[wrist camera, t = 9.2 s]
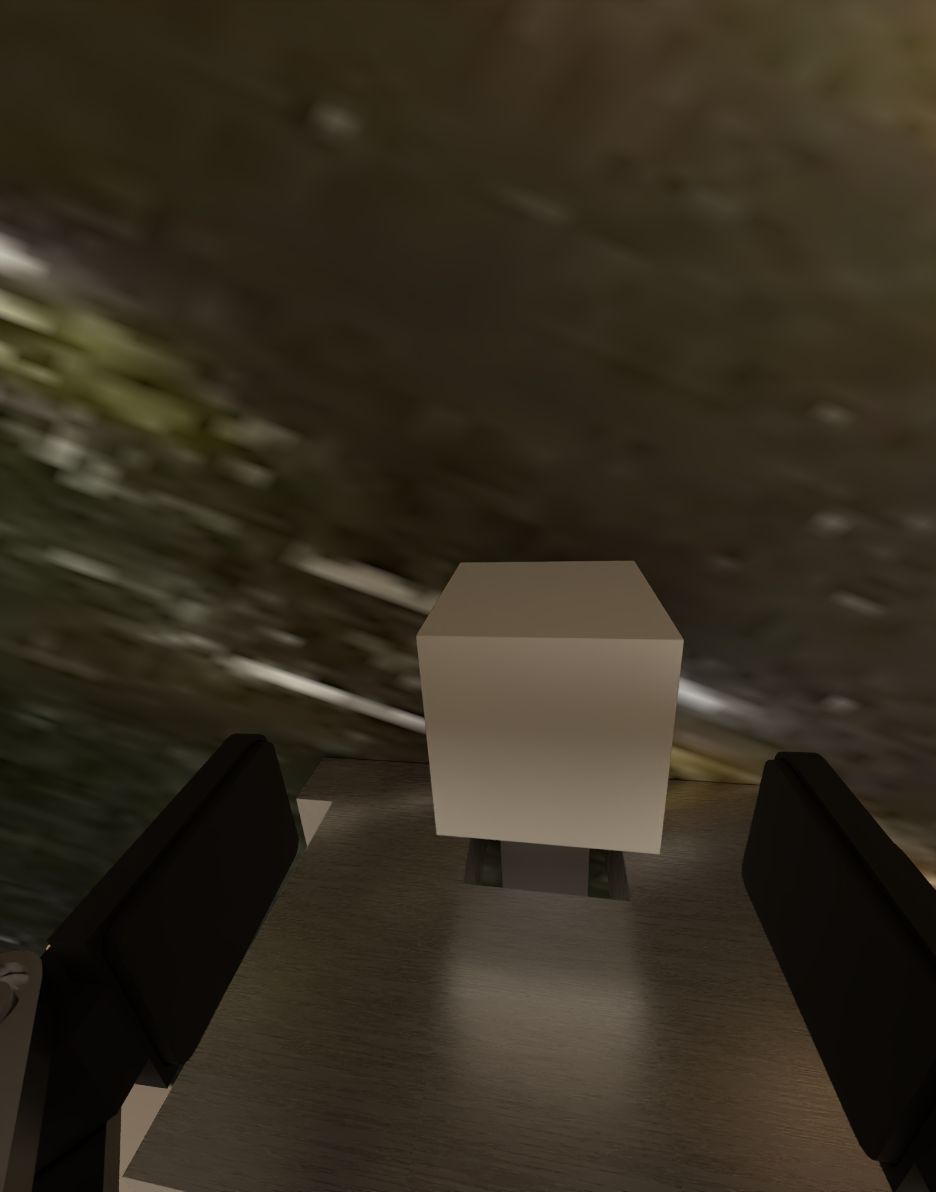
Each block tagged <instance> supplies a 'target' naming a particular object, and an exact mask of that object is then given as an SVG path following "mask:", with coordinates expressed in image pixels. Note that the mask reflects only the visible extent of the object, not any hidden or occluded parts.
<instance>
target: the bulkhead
mask: <svg viewBox="0 0 936 1192" xmlns="http://www.w3.org/2000/svg"><path fill="white" fill-rule="evenodd" d="M759 788H760V786H758V785H743V784H727V783H712V782H696V781H681V780H668V785H667V794H666V803H665V812H664V821H663V830H662V839H661V848H660V854H651V853H640V852H629V851H617V850H606V849H605V860H606V867H607V875H608V882H609V890H610V897H611V899H602V898H592V897H583V896H574V895H564V894H555V893H545V892H536V891H527V890H517V889H508V888H498V887H489V886H481V880H482V873H483V866H484V859H485V852H486V845H487V839H480V838H468V837H457V836H445V835H437V833H436V823H435V813H434V804H433V794H432V784H431V775H430V765H429V764H418V763H402V762H387V761H371V760H356V759H340V758H325V757H324V758H323V759H322V761H321V762H320V764H319V765H318V767H317V768H316V770H315V771H314V773H313V774H312V776H311V777H310V779H309V780H308V782H307V783H306V785H305V786H304V788H303V789H302V791H301V792H300V794H299V795H298V797H297V798H296V799H297V803H298V808H299V812H300V817H301V821H302V825H303V830H304V834H305V839H306V843H307V848H306V850H305V852H304V854H303V855H302V857H301V859H300V861H299V863H298V864H297V866H296V868H295V870H294V871H293V873H292V875H291V877H290V879H289V880H288V882H287V884H286V886H285V887H284V889H283V891H282V893H281V895H280V896H279V898H278V900H277V902H276V904H275V905H274V907H273V909H272V911H271V912H270V914H269V916H268V918H267V920H266V921H265V923H264V925H263V927H262V928H261V930H260V932H259V934H258V936H257V937H256V939H255V941H254V943H253V945H252V946H251V948H250V950H249V952H248V953H247V955H246V957H245V959H244V961H243V962H242V964H241V966H240V968H239V969H238V971H237V973H236V975H235V977H234V978H233V980H232V982H231V984H230V986H229V987H228V989H227V991H226V993H225V994H224V996H223V998H222V1000H221V1002H220V1004H219V1006H218V1008H217V1010H216V1012H215V1014H214V1016H213V1018H212V1020H211V1022H210V1023H209V1025H208V1027H207V1029H206V1031H205V1033H204V1035H203V1037H202V1039H201V1041H200V1043H199V1045H198V1047H197V1049H196V1050H195V1052H194V1054H193V1055H192V1057H191V1058H190V1059H189V1060H188V1061H187V1062H186V1064H185V1066H184V1067H183V1069H182V1071H181V1073H180V1075H179V1076H178V1078H177V1080H176V1082H175V1084H174V1085H173V1087H172V1089H171V1091H170V1093H169V1094H168V1097H167V1098H166V1100H165V1101H164V1103H163V1105H162V1107H161V1109H160V1110H159V1112H158V1114H157V1116H156V1118H155V1119H154V1121H153V1123H152V1125H151V1126H150V1128H149V1130H148V1132H147V1133H146V1135H145V1137H144V1139H143V1141H142V1142H141V1144H140V1146H139V1148H138V1150H137V1151H136V1153H135V1155H134V1157H133V1158H132V1160H131V1162H130V1164H129V1166H128V1167H127V1169H126V1171H125V1173H124V1174H123V1179H124V1180H125V1182H126V1183H127V1185H128V1187H129V1189H130V1190H131V1191H132V1192H892V1190H891V1187H890V1185H889V1183H888V1181H887V1179H886V1176H885V1174H884V1172H883V1170H882V1168H881V1166H880V1163H879V1161H874V1160H872V1159H870V1158H869V1157H868V1156H867V1155H866V1154H865V1153H864V1151H863V1149H862V1148H861V1146H860V1145H859V1143H858V1141H857V1139H856V1137H855V1135H854V1133H853V1130H852V1128H851V1126H850V1124H849V1121H848V1119H847V1117H846V1115H845V1112H844V1110H843V1108H842V1105H841V1103H840V1101H839V1099H838V1096H837V1094H836V1092H835V1090H834V1087H833V1085H832V1083H831V1081H830V1078H829V1076H828V1074H827V1072H826V1069H825V1067H824V1065H823V1063H822V1060H821V1058H820V1056H819V1054H818V1051H817V1049H816V1047H815V1045H814V1042H813V1040H812V1038H811V1035H810V1033H809V1031H808V1029H807V1026H806V1024H805V1022H804V1020H803V1017H802V1015H801V1013H800V1011H799V1008H798V1006H797V1004H796V1002H795V999H794V997H793V995H792V993H791V990H790V988H789V986H788V984H787V981H786V979H785V977H784V975H783V972H782V970H781V968H780V966H779V963H778V961H777V959H776V956H775V954H774V952H773V950H772V947H771V945H770V943H769V941H768V938H767V936H766V934H765V932H764V929H763V927H762V925H761V923H760V920H759V918H758V916H757V914H756V911H755V909H754V907H753V905H752V902H751V900H750V898H749V896H748V893H747V891H746V889H745V886H744V882H743V878H742V862H743V857H744V853H745V849H746V844H747V840H748V836H749V831H750V827H751V823H752V818H753V814H754V809H755V805H756V801H757V796H758V792H759Z"/></svg>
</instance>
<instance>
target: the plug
mask: <svg viewBox="0 0 936 1192" xmlns="http://www.w3.org/2000/svg"><path fill="white" fill-rule="evenodd" d="M416 640H417V649H418V659H419V669H420V678H421V688H422V698H423V707H424V717H425V727H426V736H427V746H428V755H429V765H430V775H431V784H432V794H433V804H434V813H435V823H436V833H437V835H445V836H457V837H468V838H480V839H491V840H501V862H502V885H503V888H508V889H517V890H527V891H536V892H545V893H555V894H564V895H574V896H583V897H587V895H588V872H589V849H590V848H594V849H606V850H617V851H629V852H640V853H651V854H660V848H661V839H662V830H663V821H664V812H665V803H666V794H667V785H668V776H669V767H670V758H671V749H672V741H673V732H674V723H675V714H676V705H677V696H678V687H679V678H680V669H681V660H682V651H683V643H684V639H683V638H682V636H681V635H680V633H679V631H678V630H677V628H676V627H675V625H674V623H673V622H672V620H671V619H670V617H669V616H668V614H667V612H666V611H665V609H664V608H663V606H662V604H661V603H660V601H659V600H658V598H657V596H656V595H655V593H654V592H653V590H652V588H651V587H650V585H649V584H648V582H647V580H646V579H645V577H644V576H643V574H642V572H641V571H640V569H639V568H638V566H637V564H636V563H635V561H561V562H469V563H460V564H459V566H458V567H457V569H456V571H455V572H454V574H453V576H452V577H451V579H450V581H449V582H448V584H447V586H446V587H445V589H444V591H443V592H442V594H441V595H440V597H439V599H438V600H437V602H436V604H435V605H434V607H433V609H432V610H431V612H430V614H429V615H428V617H427V619H426V620H425V622H424V624H423V625H422V627H421V628H420V630H419V632H418V633H417V635H416Z"/></svg>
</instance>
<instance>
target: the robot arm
mask: <svg viewBox="0 0 936 1192" xmlns="http://www.w3.org/2000/svg"><path fill="white" fill-rule="evenodd" d="M298 842H299V839H298V834H297V830H296V826H295V822H294V819H293V815H292V811H291V808H290V804H289V800H288V796H287V793H286V789H285V785H284V781H283V778H282V774H281V770H280V767H279V763H278V759H277V755H276V752H275V748H274V745H273V744H272V743H271V742H268V741H267V739H266V737H265V736H264V735H261V734H238V733H235V734H233V735H231V736H230V737H228V738H227V739H226V741H225V742H224V743H223V744H222V745H221V746H220V747H219V748H218V749H217V751H216V752H215V753H214V754H213V755H212V756H211V757H210V758H209V760H208V761H207V762H206V763H205V764H204V765H203V766H202V767H201V768H200V770H199V771H198V772H197V773H196V774H195V775H194V776H193V777H192V779H191V780H190V781H189V782H188V783H187V784H186V785H185V786H184V787H183V789H182V790H181V791H180V792H179V793H178V794H177V795H176V796H175V798H174V799H173V800H172V801H171V802H170V803H169V804H168V805H167V807H166V808H165V809H164V810H163V811H162V812H161V813H160V814H159V815H158V817H157V818H156V819H155V820H154V821H153V822H152V823H151V824H150V826H149V827H148V828H147V829H146V830H145V831H144V832H143V833H142V834H141V836H140V837H139V838H138V839H137V840H136V841H135V842H134V843H133V845H132V846H131V847H130V848H129V849H128V850H127V851H126V852H125V853H124V855H123V856H122V857H121V858H120V859H119V860H118V861H117V862H116V864H115V865H114V866H113V867H112V868H111V869H110V870H109V871H108V872H107V874H106V875H105V876H104V877H103V878H102V879H101V880H100V881H99V883H98V884H97V885H96V886H95V887H94V888H93V889H92V890H91V891H90V893H89V894H88V895H87V896H86V897H85V898H84V899H83V900H82V902H81V903H80V904H79V905H78V906H77V907H76V908H75V909H74V911H73V912H72V913H71V914H70V915H69V916H68V917H67V918H66V919H65V921H64V922H63V923H62V924H61V925H60V926H59V927H58V928H57V930H56V931H55V932H54V933H53V934H52V935H51V936H50V937H49V938H48V940H47V941H48V943H49V944H50V947H49V948H48V949H47V950H46V952H45V953H44V954H43V955H42V956H41V957H40V958H39V957H38V956H37V955H36V954H35V953H32V952H28V951H24V950H22V951H16V952H9V953H5V954H2V955H0V1192H119V1164H120V1132H121V1106H122V1104H123V1103H124V1101H125V1099H126V1097H127V1096H128V1094H129V1092H130V1091H131V1089H132V1087H133V1085H134V1084H139V1085H146V1086H153V1087H159V1088H168V1086H169V1084H170V1082H171V1081H172V1079H173V1077H174V1075H175V1073H176V1071H177V1069H178V1067H179V1065H182V1064H185V1063H186V1062H187V1061H188V1060H189V1059H190V1058H191V1057H192V1055H193V1054H194V1052H195V1050H196V1049H197V1047H198V1045H199V1043H200V1041H201V1039H202V1037H203V1035H204V1033H205V1031H206V1029H207V1027H208V1025H209V1023H210V1022H211V1020H212V1018H213V1016H214V1014H215V1012H216V1010H217V1008H218V1006H219V1004H220V1002H221V1000H222V998H223V996H224V994H225V992H226V990H227V988H228V986H229V985H230V983H231V981H232V979H233V977H234V975H235V973H236V971H237V969H238V967H239V965H240V963H241V961H242V959H243V957H244V955H245V953H246V951H247V949H248V948H249V946H250V944H251V942H252V940H253V938H254V936H255V934H256V932H257V930H258V928H259V926H260V924H261V922H262V920H263V918H264V916H265V914H266V912H267V911H268V909H269V907H270V905H271V903H272V901H273V899H274V897H275V895H276V893H277V891H278V889H279V887H280V885H281V883H282V881H283V879H284V877H285V875H286V874H287V872H288V870H289V868H290V866H291V864H292V862H293V860H294V858H295V856H296V853H297V849H298ZM742 878H743V882H744V886H745V889H746V891H747V893H748V896H749V898H750V900H751V902H752V905H753V907H754V909H755V911H756V914H757V916H758V918H759V920H760V923H761V925H762V927H763V929H764V932H765V934H766V936H767V938H768V941H769V943H770V945H771V947H772V950H773V952H774V954H775V956H776V959H777V961H778V963H779V966H780V968H781V970H782V972H783V975H784V977H785V979H786V981H787V984H788V986H789V988H790V990H791V993H792V995H793V997H794V999H795V1002H796V1004H797V1006H798V1008H799V1011H800V1013H801V1015H802V1017H803V1020H804V1022H805V1024H806V1026H807V1029H808V1031H809V1033H810V1035H811V1038H812V1040H813V1042H814V1045H815V1047H816V1049H817V1051H818V1054H819V1056H820V1058H821V1060H822V1063H823V1065H824V1067H825V1069H826V1072H827V1074H828V1076H829V1078H830V1081H831V1083H832V1085H833V1087H834V1090H835V1092H836V1094H837V1096H838V1099H839V1101H840V1103H841V1105H842V1108H843V1110H844V1112H845V1115H846V1117H847V1119H848V1121H849V1124H850V1126H851V1128H852V1130H853V1133H854V1135H855V1137H856V1139H857V1141H858V1143H859V1145H860V1146H861V1148H862V1149H863V1151H864V1153H865V1154H866V1155H867V1156H868V1157H869V1158H870V1159H872V1160H874V1161H879V1163H880V1166H881V1168H882V1170H883V1172H884V1174H885V1176H886V1179H887V1181H888V1183H889V1185H890V1187H891V1190H892V1192H936V890H935V889H934V888H933V887H932V885H931V884H930V883H929V882H928V881H927V879H926V878H925V877H924V876H923V875H922V873H921V872H920V871H919V870H918V869H917V867H916V866H915V865H914V864H913V863H912V861H911V860H910V859H909V858H908V857H907V855H906V854H905V853H904V852H903V851H902V850H901V849H900V848H899V847H898V846H897V845H896V844H894V843H893V841H892V840H891V839H890V838H889V837H888V835H887V834H886V833H885V832H884V831H883V829H882V828H881V827H880V826H879V824H878V823H877V822H876V821H875V820H874V818H873V817H872V816H871V815H870V814H869V812H868V811H867V810H866V809H865V808H864V806H863V805H862V804H861V803H860V801H859V800H858V799H857V798H856V797H855V795H854V794H853V793H852V792H851V791H850V789H849V788H848V787H847V786H846V784H845V783H844V782H843V781H842V780H841V778H840V777H839V776H838V775H837V774H836V772H835V771H834V770H833V769H832V767H831V766H830V765H829V764H828V763H827V761H826V760H825V759H824V758H823V757H822V756H821V755H819V754H817V753H807V752H779V753H778V754H777V755H776V756H775V759H774V760H768V761H767V762H766V763H765V766H764V770H763V775H762V779H761V783H760V788H759V792H758V796H757V801H756V805H755V809H754V814H753V818H752V823H751V827H750V831H749V836H748V840H747V844H746V849H745V853H744V857H743V862H742Z"/></svg>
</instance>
